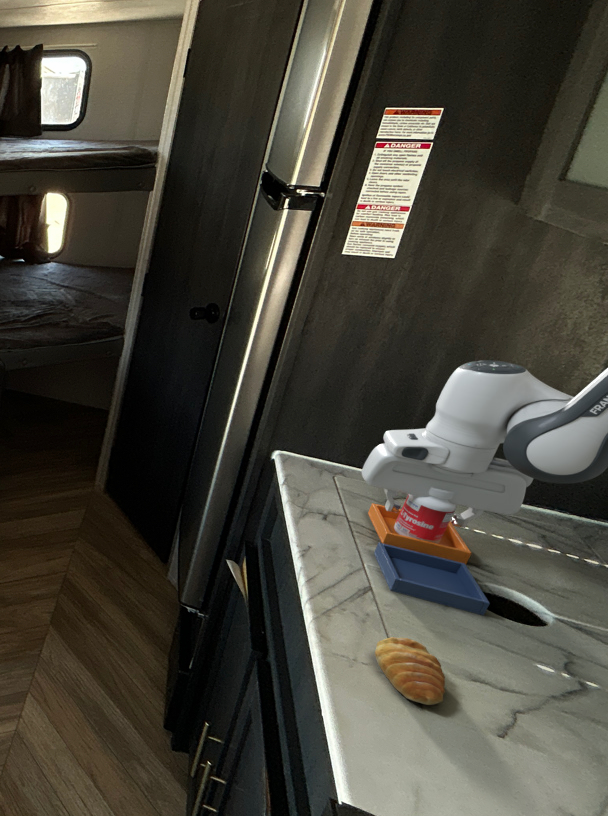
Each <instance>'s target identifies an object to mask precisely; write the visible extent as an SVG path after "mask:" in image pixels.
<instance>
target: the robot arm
mask: <svg viewBox="0 0 608 816" xmlns="http://www.w3.org/2000/svg"><path fill="white" fill-rule="evenodd" d="M382 438H383V443H380V444H378V445H377V446H375V447H374V448H373V449H372V450H371V451H370V453H369V455H368V457H367V458H366V460H365V462H364V464H363V466H362V469H361V476H362V478H363V480H364V482H365V483H366V484H367V485H368V486H369V487H373V488H377V489H378V488H379V489H383V491H384V494H385V496H386V502H385V504H384V506H385V508H386V510H387V511H390V512H395V513H398V509H401V508H402V505H401V504H400V502H399V500H396V499H395V498H394V497H397V496H398V494H399V493H401V494H406V495H408V494H410V495H415V496H420V497H430V496H431V495H429V490H430V488H431V487H432V488H437V489H441V490H446V491H451V492H454V495H453V497H452V499H448V501H449V502H450V503H453V504H457V506H462V507H467V509H466V510H465V511H463V512H461V513H457V512H454V514H453V516H452V518H451V520H450V521H451V523H452V524H453V526H454V527H457V528H461V529H466V528H467V527H468V524H469V522H472V521H473V520H475V519H477V518H479V517H482V516H483V514H484V512H490V513H494V514H495V513H496V514H500V515H504V516H512V515H514V514H517V513H519V512H520V510H521V508H522V505H523V502H524V500H525V495H526V491H527V488H528V487H529V486H531V484H532V483H533V480H537V481H540V482H545V483H550V484H563V485H565V484H578V483H579V484H580V483H583V482H587V481H590V480H592V479H595V478H596V477H597V478H598V476H600V475H601V474H603V473H604V472H605V471H606V470H607V469H608V367H607V368H606V369H604V370H603V371H602V372H601V373H600V374H599V375H598V376H597V377H595V378H594V379H593V380H592V381H590V383H589V384H587V385H586V386H585V387H584V388H583V389H582V390H581V391H580V392H578V394H576V395H575V396H573V395H570V394H567V393H565V392H562V391H560V390H558V389H556V388H553V386H549V384H546V383H545V382H543V381H541V380H540V379H538V378H537V377H535V376H534V375H533V374H531V373H530V371H528V369H527V368H526V367H523V366H522V365H519V364H515V363H511V362H507V361H500V360H475V361H469V362H466V363H464V364H461V365H460V366H458V367H457V368H456V369H454V371H453V372H452V374H451V375H450V376H449V378H448V379H447V381H446V383H445V384H444V386H443V388H442V390H441V392H440V394H439V396H438V399H437V402H436V403H435V413H434V416H433V417H432V418H431V420H430V421H428V423H427V424H426V425H425V428H424V427H423V428H415V429H414V428H411V429H391V430H386V431H385V432H384V433H383V437H382ZM500 444H503V445H502V449H503V450H502V451H503V455H504V457H505V459H503V458H498V457H494V456H495V455H496V452H497V451H498V449H499V446H500Z"/></svg>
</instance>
